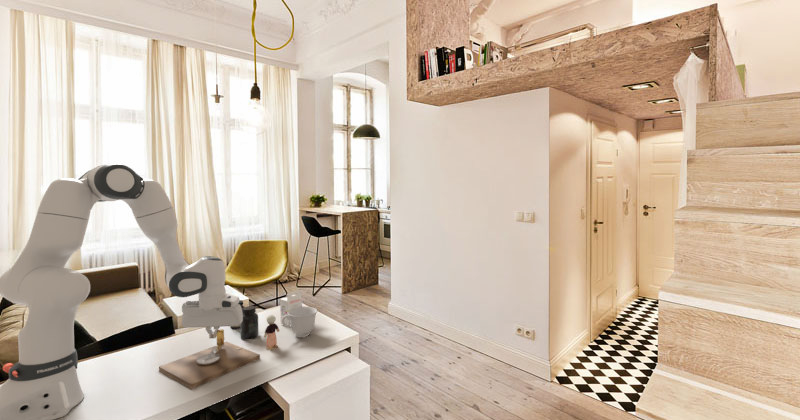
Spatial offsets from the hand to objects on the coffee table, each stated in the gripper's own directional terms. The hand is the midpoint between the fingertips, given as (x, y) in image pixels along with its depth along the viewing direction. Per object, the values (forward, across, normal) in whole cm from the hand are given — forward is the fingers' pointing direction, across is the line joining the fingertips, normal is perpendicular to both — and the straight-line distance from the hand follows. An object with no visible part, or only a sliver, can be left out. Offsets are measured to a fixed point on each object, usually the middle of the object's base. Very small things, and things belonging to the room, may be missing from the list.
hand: (213, 337), depth 136 cm
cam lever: (+4, +2, -6) cm, 8 cm away
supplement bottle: (+6, +9, +14) cm, 18 cm away
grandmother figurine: (+6, +20, +2) cm, 21 cm away
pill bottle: (+6, +1, +26) cm, 27 cm away
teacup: (+6, +29, +13) cm, 32 cm away
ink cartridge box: (+6, +24, +28) cm, 37 cm away
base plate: (+6, +3, -9) cm, 11 cm away
